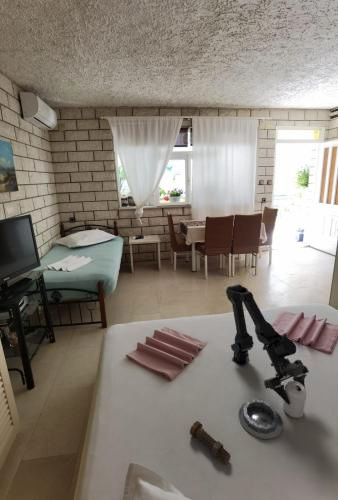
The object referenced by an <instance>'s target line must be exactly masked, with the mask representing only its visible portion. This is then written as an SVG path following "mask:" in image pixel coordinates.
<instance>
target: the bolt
mask: <svg viewBox="0 0 338 500" xmlns="http://www.w3.org/2000/svg"><path fill="white" fill-rule="evenodd" d="M189 435H190V436H192V437H193V438H194V439H195V438H197V439H199V440H200V441H201V442H202V443H203V444H204V445H205V447H207V448H208V449H209V450H210V451H211V455H212V456H214V457H215V458H218V459H219V460H220V461H222V463H223V464H228V462H229V461H230V459H231V453H230V452H228V451H227V449H225V448H224V444H222V442H220V441H219V440H215V438H213V437H212V436H211V435H210V434H209V433H208V432H207V431H206V430H205V429H204V428H203V424H202V423H201V422H200V421H199V420H196V421H194V422H193V423H192V426H191V427H190V430H189Z"/></svg>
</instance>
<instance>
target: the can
mask: <svg viewBox="0 0 338 500" xmlns="http://www.w3.org/2000/svg"><path fill="white" fill-rule="evenodd" d="M284 390H285V392H286V394H287V397H288V399H289V401H290V404H287V403H286V402H285V401H284V400H283V399H282V409H283V411H284V412H285V413H286V414H287V415H288V416H289V417H292V418H297V419H298V418H301V417H303V416H304V412H305V407H306V406H305V404H306V398H307V391H305V390H306V387H305V388H304V386H303V385H302V384H300V383H299V382H296V381H294V380H290V381H288V382H286V384H284Z"/></svg>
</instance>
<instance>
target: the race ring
mask: <svg viewBox="0 0 338 500" xmlns="http://www.w3.org/2000/svg"><path fill="white" fill-rule="evenodd" d="M238 419H239V420H238V421H239V422H240V425H241V426H242V428H243V429H244V430H245V431H246V432H247V433H248V434H249V435H251V436H253V437H254V438H257V439H259V440H260V439H261V440H273V439H276V438H277V437H279V436H280V434H281V433H282V431H283V427H284V426H283V425H284V423H283V419H282V417H281V415H280V413H279V412H278V411H277V410H276V409H275V407H273V405H272V404H270V403H269V402H267V401H265V400H262V399H257V398H255V399H251V400H248V401H247V402H244V403H243V404H242V405H241V406H240V407H239V409H238Z"/></svg>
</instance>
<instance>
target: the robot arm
mask: <svg viewBox="0 0 338 500" xmlns="http://www.w3.org/2000/svg"><path fill="white" fill-rule="evenodd" d="M225 294H226V297H227V300H228V301H229V302H230V303H231V305H232V311H233V317H234V323H235V324H234V325H235V329H236V333H235V336H234V343H232V344H230V349H231V350H232V351H233V357H232V358H231V361H233V362H235V363H236V364H239V365H240V366H245V365H246V364H247V363H248V362H249V360H250V358H249V357H250V353H249V351H250V350H252V348H253V347H254V340H253V336H252V335H251V334H249V332H248V330H247V324H246V318H245V311H244V306H245V308H246V311H247V312H248V315H249V317H250V318H251V320H252V322H253V324H254V326H255V327H254V332H255V335H256V339H257V340H258V342H260V343H261V344H263V347H262V351H266V353H267V355H268V357H269V360H270V362H271V363H270V366H271V367H273V368H274V371H275V376H273V377H270V378H267V379H265V380H264V381H263V382H264V383H263V385H264V387H265V389H270V390H273V392H275V393H276V394H277V395H279V397H280V398H281V399H282V401H283V400H284V401H285V402H286V403H287V404H290V401H289V399H288V397H287V394H286V392H285V384H282V382H284V381H286V380H288V379H290V378H292V379H293V380H292V381H296V382H299V383H300V384H302V385H303V386H304V388H305V391H306V385H305V378H306V377H307V376H308V375H307V374H308V373H309V372H310V371H309V369H308V367H307V366H305V365H304V363H303V362H302V360H300V359H297V360H294V362H293V361H292V362H291V361H290V359H289V358H286V357H289V356H292V355H295V354H296V353H297V346H296V344H295V342H293V340H291V339H289V338H288V337H287V336H282V334H280V333H279V332H277V331H276V329H275V328H274V326H273V325H272V324H271V323H269V322H268V321H267V320H266V319H265V316H264V315H263V313H262V312H261V309H260V308H259V306H258V303H257V302H256V300H255V298H254V295H253V294H254V293H252V291H249V290H248V288H247V287H245V286H243V285H242V284H239V283H238V284H235V285H230V286H227V288H226V289H225ZM306 392H307V391H306Z"/></svg>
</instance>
